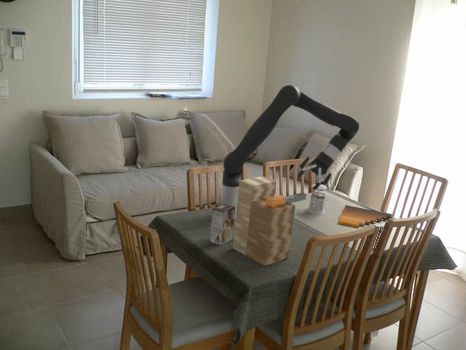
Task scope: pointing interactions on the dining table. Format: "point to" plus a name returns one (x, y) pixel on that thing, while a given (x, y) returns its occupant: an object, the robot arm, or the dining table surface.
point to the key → (284, 200)
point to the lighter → (378, 234)
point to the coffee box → (222, 224)
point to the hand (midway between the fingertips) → (305, 183)
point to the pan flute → (361, 216)
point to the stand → (262, 222)
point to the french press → (317, 201)
